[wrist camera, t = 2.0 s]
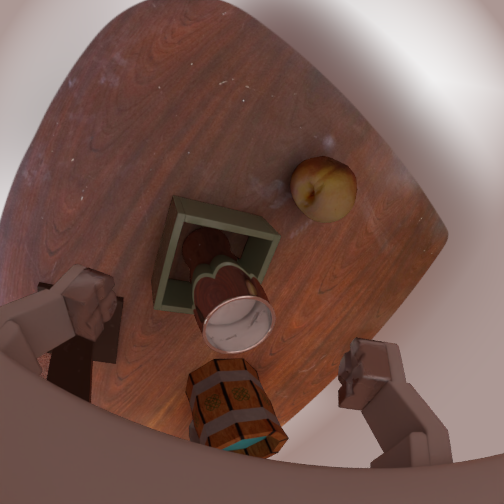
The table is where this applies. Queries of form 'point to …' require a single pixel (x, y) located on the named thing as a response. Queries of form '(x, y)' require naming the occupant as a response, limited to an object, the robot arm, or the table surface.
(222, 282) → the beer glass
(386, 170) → the table surface
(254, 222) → the holder
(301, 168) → the fruit
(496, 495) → the robot arm
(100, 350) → the stand post
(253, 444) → the mug
